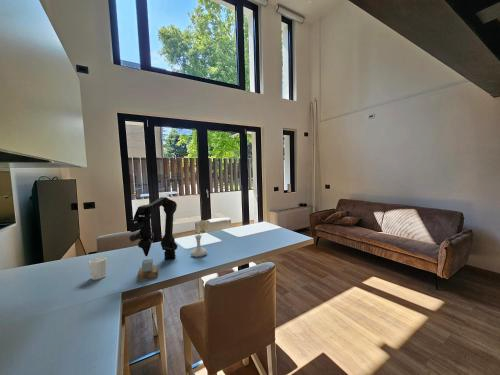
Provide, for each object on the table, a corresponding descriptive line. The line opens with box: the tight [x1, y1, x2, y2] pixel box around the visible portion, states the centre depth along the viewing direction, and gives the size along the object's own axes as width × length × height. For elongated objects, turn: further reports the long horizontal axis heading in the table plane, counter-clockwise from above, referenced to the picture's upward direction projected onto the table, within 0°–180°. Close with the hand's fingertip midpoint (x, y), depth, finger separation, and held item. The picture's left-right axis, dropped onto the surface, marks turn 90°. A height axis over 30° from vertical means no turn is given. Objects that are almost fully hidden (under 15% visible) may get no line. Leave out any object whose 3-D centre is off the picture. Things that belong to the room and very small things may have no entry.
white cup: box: [88, 256, 107, 281], centre depth 120 cm, size 8×8×10 cm
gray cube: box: [141, 258, 154, 272], centre depth 119 cm, size 5×5×5 cm
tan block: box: [136, 264, 159, 282], centre depth 120 cm, size 10×10×4 cm
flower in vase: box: [190, 219, 209, 258], centre depth 149 cm, size 13×11×25 cm
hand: (147, 253), depth 123 cm, fingers open, 9 cm apart
